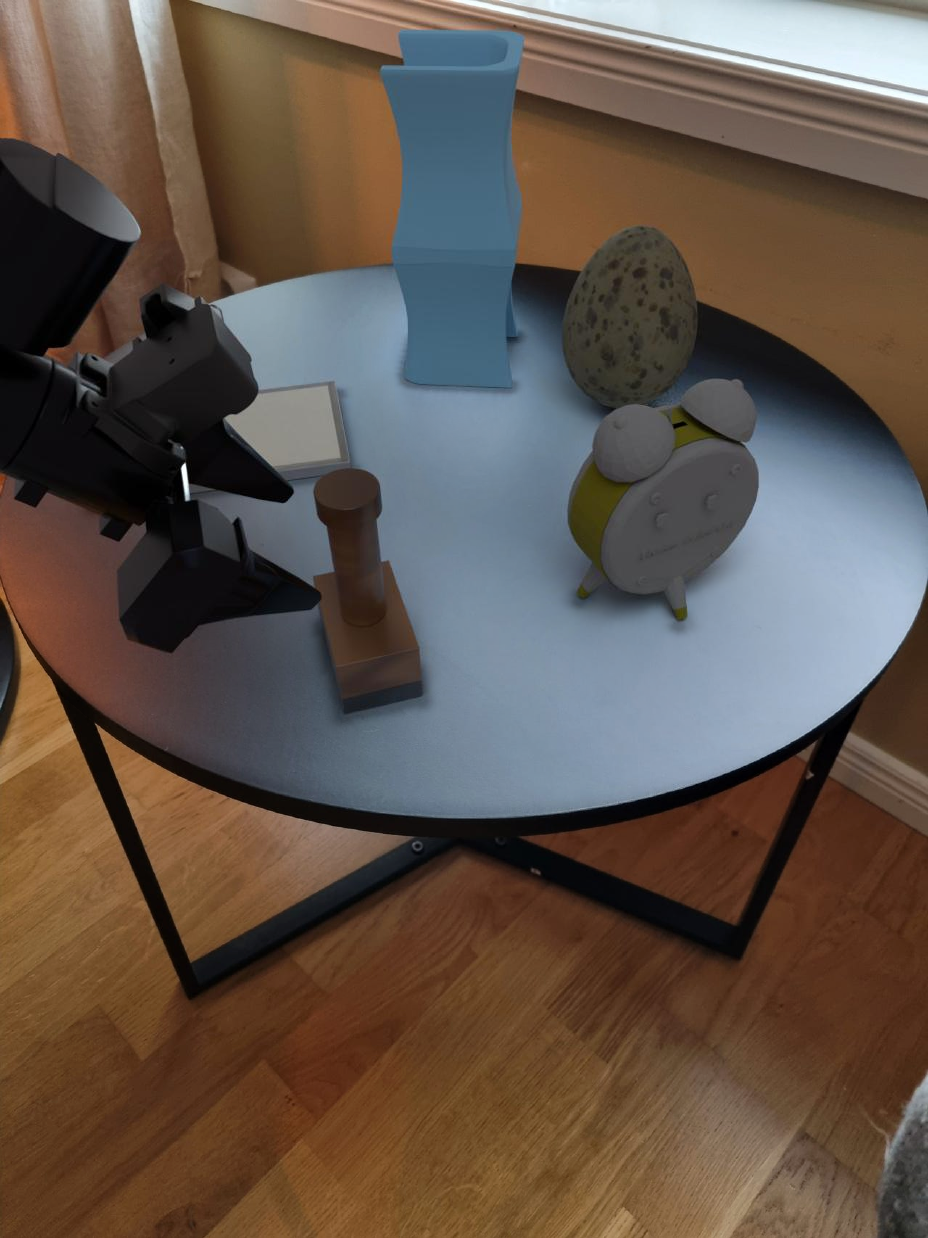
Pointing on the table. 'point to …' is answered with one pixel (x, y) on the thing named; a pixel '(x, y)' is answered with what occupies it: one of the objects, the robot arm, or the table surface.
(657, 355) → the decorative egg
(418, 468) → the table surface
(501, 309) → the vase
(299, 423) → the board
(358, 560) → the wooden rubber stamp
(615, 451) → the alarm clock
